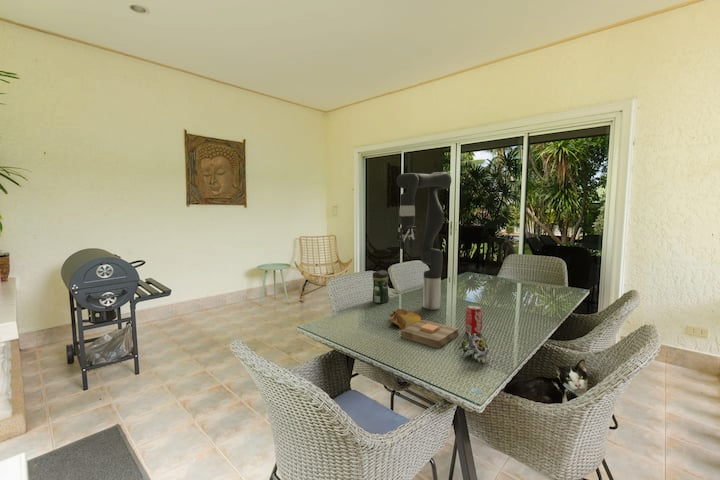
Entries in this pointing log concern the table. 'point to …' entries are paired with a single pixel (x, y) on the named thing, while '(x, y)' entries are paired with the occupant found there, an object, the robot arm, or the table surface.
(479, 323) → the soda can
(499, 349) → the table surface
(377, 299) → the coffee jar
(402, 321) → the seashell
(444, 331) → the button plate
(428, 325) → the push button
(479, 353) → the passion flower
